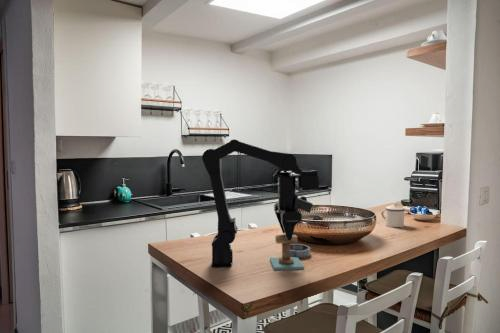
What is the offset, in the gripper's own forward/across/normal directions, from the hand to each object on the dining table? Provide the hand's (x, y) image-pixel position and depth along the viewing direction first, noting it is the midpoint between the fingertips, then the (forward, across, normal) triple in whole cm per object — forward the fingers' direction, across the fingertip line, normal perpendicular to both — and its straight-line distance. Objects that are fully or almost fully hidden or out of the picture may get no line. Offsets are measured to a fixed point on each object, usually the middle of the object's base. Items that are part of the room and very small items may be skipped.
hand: (286, 236), depth 120 cm
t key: (+9, 0, 0) cm, 9 cm away
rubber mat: (+10, 0, 0) cm, 10 cm away
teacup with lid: (+10, +54, -64) cm, 84 cm away
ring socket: (+10, +11, -6) cm, 16 cm away
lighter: (+10, +34, -20) cm, 41 cm away
